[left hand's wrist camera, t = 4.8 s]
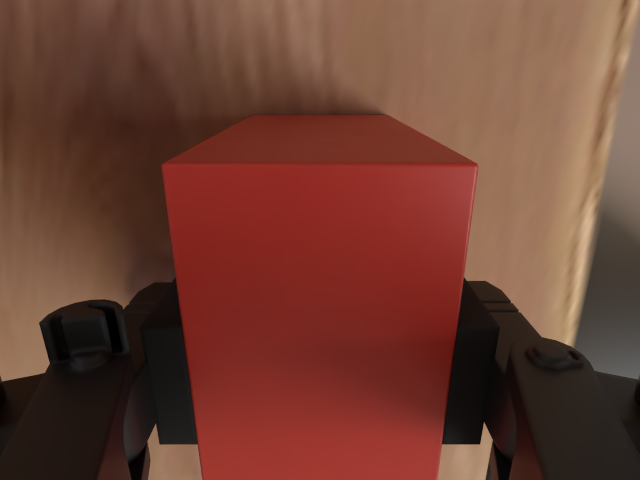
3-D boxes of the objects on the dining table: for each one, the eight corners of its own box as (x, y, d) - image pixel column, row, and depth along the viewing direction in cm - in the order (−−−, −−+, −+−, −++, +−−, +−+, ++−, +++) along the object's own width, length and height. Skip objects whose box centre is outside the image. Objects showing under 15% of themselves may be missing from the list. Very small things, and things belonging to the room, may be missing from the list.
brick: (377, 322, 18) (429, 545, 10) (262, 322, 18) (209, 545, 10) (388, 114, 15) (480, 163, 7) (251, 114, 15) (159, 163, 7)
